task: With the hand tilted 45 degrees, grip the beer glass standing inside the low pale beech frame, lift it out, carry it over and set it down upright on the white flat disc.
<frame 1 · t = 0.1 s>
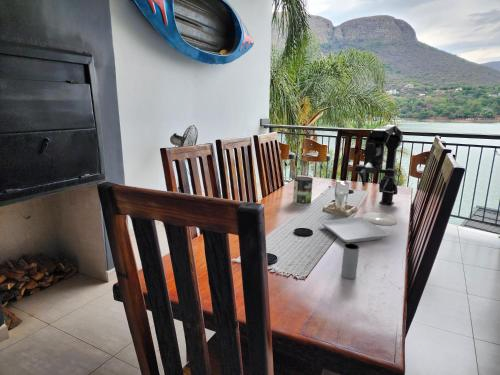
hand: (373, 187, 153), 15 cm above the table, tool pointing down, fingers open, 9 cm apart
beech frame: (339, 210, 164), on the table
white flat disc: (379, 219, 152), on the table
salad plate: (352, 234, 134), on the table
coffee can: (301, 202, 177), on the table
planter: (348, 276, 101), on the table
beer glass: (339, 210, 164), resting in beech frame
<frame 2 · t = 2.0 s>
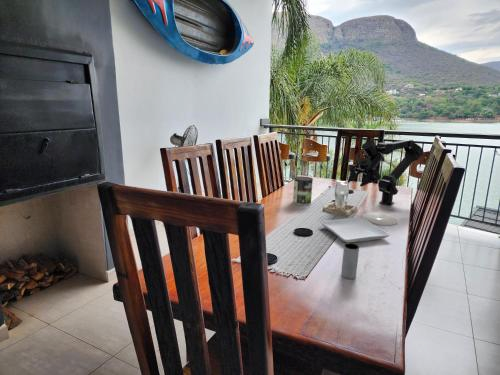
hand: (354, 184, 164), 13 cm above the table, tool tilted 45°, fingers open, 9 cm apart
nothing on the table moved.
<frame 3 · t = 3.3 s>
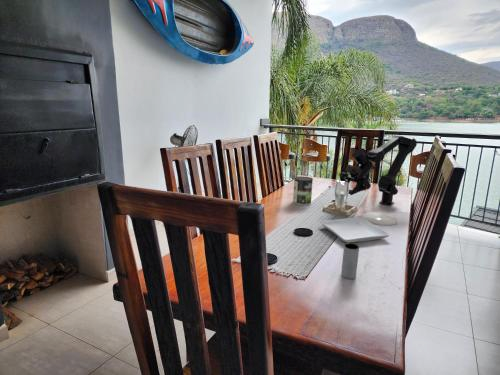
hand: (344, 192, 163), 10 cm above the table, tool tilted 45°, fingers open, 9 cm apart
nothing on the table moved.
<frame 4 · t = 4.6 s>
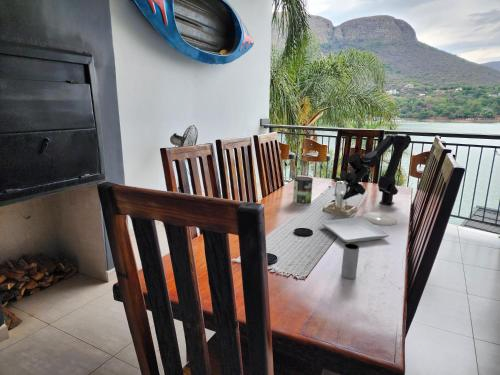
hand: (338, 197, 162), 7 cm above the table, tool tilted 45°, fingers closed on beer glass, 7 cm apart
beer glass: (339, 210, 164), resting in beech frame, touching gripper
everything else where it was.
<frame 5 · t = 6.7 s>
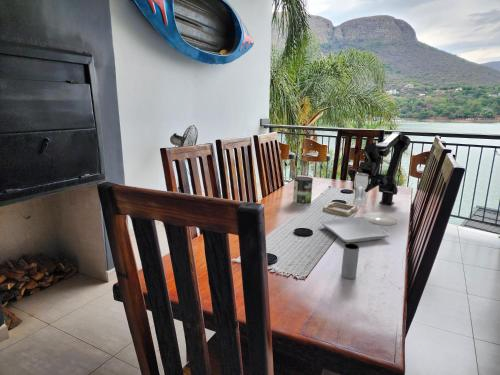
hand: (359, 190, 153), 13 cm above the table, tool tilted 45°, fingers closed on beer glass, 7 cm apart
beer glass: (359, 204, 156), point 6 cm above the table, touching gripper
everything else where it was.
when the fingers open (9 cm above the table, at t = 9.1 s): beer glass stays where it is, resting on white flat disc.
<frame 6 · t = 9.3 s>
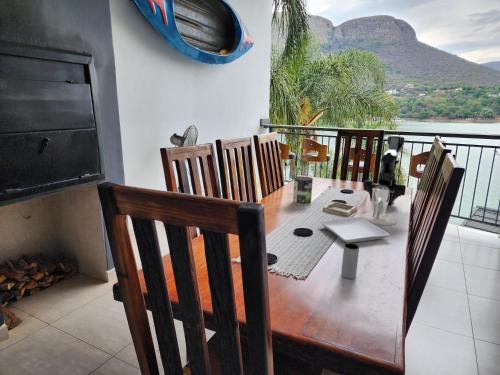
hand: (380, 202, 149), 9 cm above the table, tool tilted 45°, fingers open, 9 cm apart
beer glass: (378, 218, 152), resting on white flat disc
everything else where it was.
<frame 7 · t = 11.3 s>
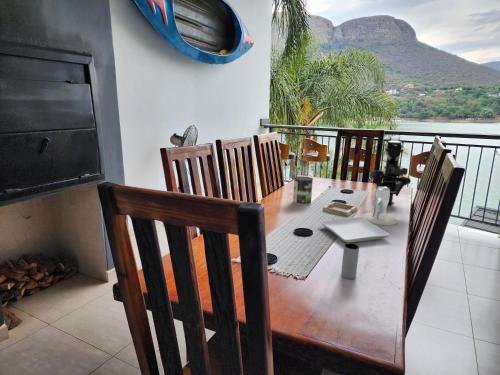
hand: (388, 194, 157), 11 cm above the table, tool tilted 30°, fingers open, 9 cm apart
nothing on the table moved.
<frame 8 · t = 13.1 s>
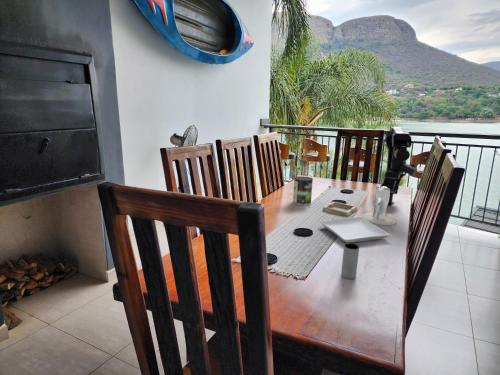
hand: (394, 188, 158), 13 cm above the table, tool pointing down, fingers open, 9 cm apart
nothing on the table moved.
at the end: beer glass 0.3 cm from the white flat disc (horizontally); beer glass tilted 0°; the gripper is holding nothing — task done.
